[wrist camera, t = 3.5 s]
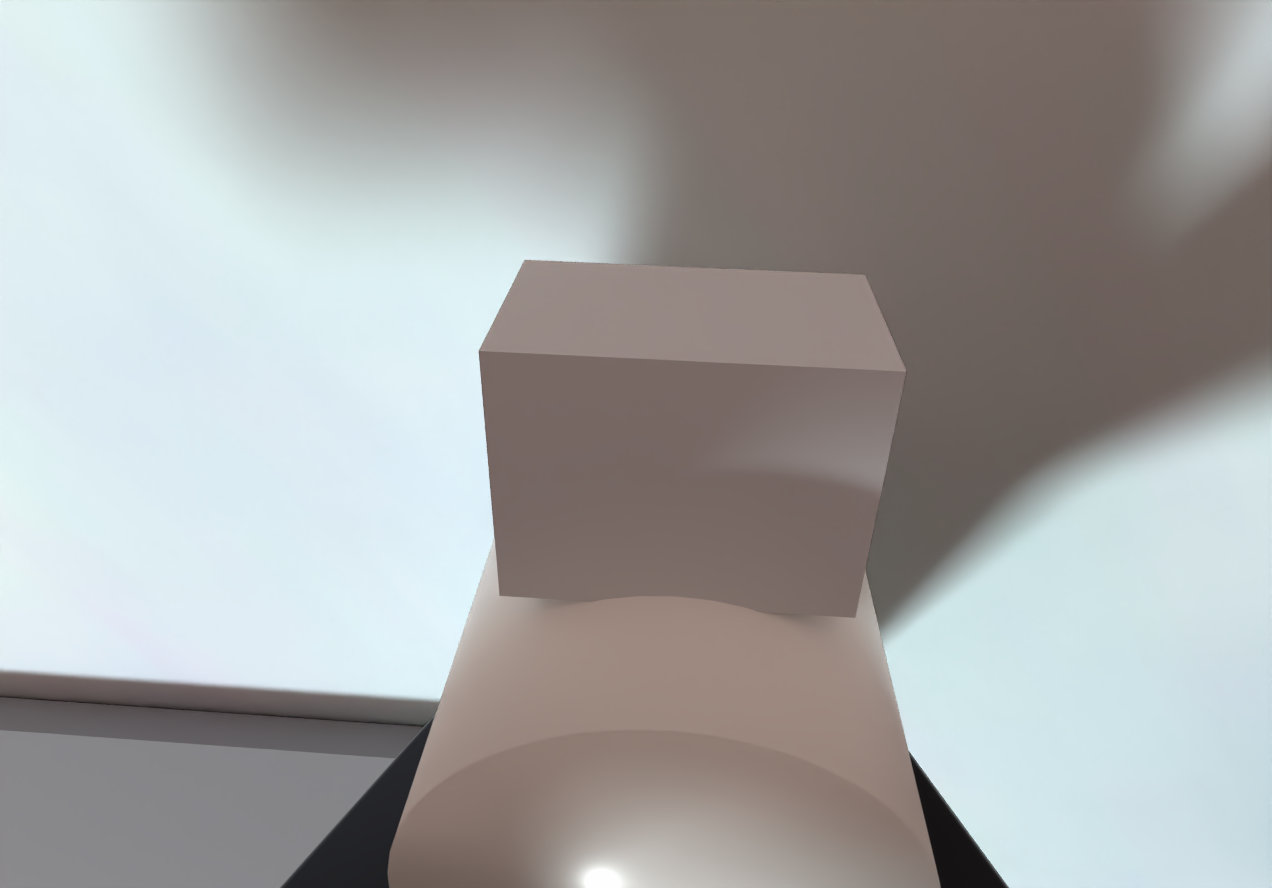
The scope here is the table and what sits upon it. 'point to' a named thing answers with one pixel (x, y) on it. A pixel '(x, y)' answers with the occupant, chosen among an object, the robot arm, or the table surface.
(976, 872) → the robot arm
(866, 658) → the plug
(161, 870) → the coaster
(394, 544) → the table surface
